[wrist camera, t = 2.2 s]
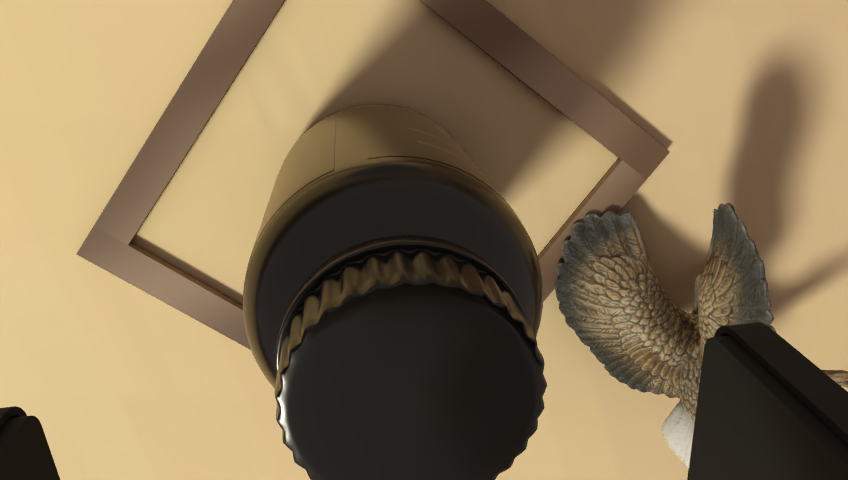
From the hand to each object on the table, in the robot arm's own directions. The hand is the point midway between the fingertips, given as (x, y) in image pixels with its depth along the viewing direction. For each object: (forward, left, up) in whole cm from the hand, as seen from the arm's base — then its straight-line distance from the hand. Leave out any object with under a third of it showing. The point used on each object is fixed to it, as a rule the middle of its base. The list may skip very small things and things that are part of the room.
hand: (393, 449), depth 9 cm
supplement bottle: (-1, 0, -14) cm, 14 cm away
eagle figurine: (-12, -3, -14) cm, 18 cm away
